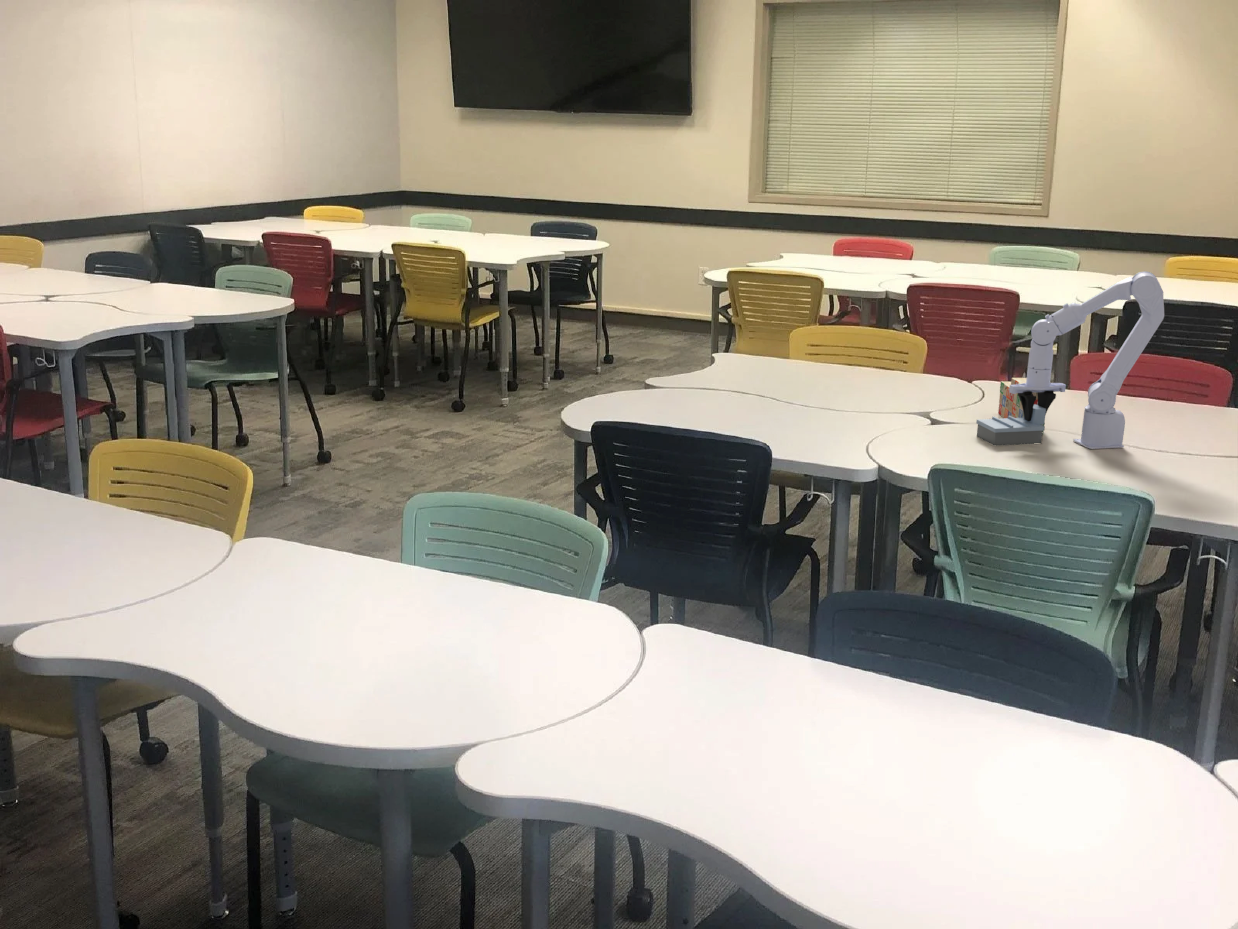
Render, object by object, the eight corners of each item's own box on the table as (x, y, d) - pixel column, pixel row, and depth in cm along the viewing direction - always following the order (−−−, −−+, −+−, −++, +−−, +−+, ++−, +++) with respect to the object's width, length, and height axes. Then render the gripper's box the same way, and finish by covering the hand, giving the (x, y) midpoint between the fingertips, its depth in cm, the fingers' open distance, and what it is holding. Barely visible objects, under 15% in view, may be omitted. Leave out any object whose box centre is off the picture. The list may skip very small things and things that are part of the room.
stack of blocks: (997, 413, 333) (1001, 370, 330) (1019, 414, 333) (1024, 370, 330) (1020, 433, 313) (1025, 387, 309) (1044, 433, 313) (1049, 387, 309)
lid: (1028, 421, 310) (1030, 402, 309) (1048, 430, 301) (1050, 410, 300) (976, 423, 307) (978, 404, 306) (994, 432, 298) (996, 413, 297)
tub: (1022, 434, 311) (1024, 421, 310) (1041, 443, 302) (1042, 430, 301) (976, 436, 308) (977, 423, 307) (993, 445, 300) (995, 432, 299)
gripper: (1057, 363, 306) (1051, 415, 310) (1005, 365, 304) (1000, 417, 307) (1072, 369, 300) (1066, 421, 304) (1019, 370, 297) (1014, 424, 301)
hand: (1033, 420), depth 305 cm, fingers closed on lid, 3 cm apart
